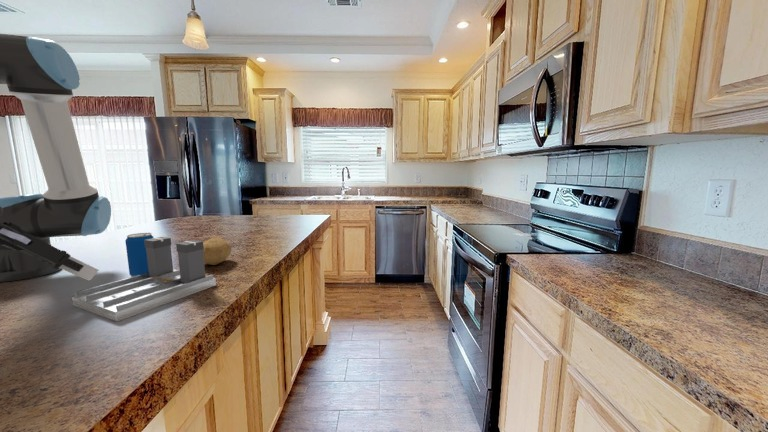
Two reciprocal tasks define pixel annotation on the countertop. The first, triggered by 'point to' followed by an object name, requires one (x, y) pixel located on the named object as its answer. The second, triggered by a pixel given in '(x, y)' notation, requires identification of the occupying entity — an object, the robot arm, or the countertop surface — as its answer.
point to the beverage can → (137, 253)
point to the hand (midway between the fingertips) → (92, 274)
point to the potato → (215, 251)
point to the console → (138, 294)
